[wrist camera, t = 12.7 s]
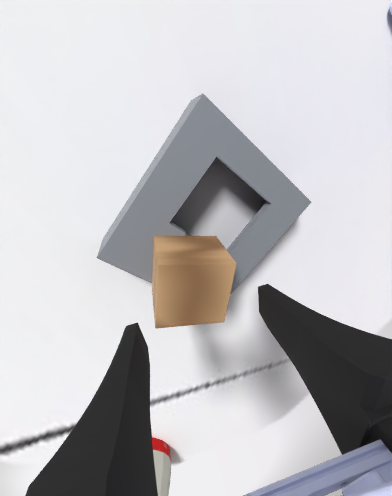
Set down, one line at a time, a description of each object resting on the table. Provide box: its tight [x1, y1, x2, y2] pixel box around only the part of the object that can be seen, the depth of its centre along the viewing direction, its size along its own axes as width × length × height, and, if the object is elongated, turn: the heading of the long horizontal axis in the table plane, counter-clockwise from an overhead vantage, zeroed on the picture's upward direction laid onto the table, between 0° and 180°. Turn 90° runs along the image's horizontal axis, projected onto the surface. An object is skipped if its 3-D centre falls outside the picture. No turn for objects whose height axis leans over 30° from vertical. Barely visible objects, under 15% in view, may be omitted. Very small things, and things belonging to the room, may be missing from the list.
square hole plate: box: [97, 94, 311, 294], centre depth 19 cm, size 12×13×3 cm
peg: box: [152, 232, 237, 328], centre depth 18 cm, size 5×5×8 cm
